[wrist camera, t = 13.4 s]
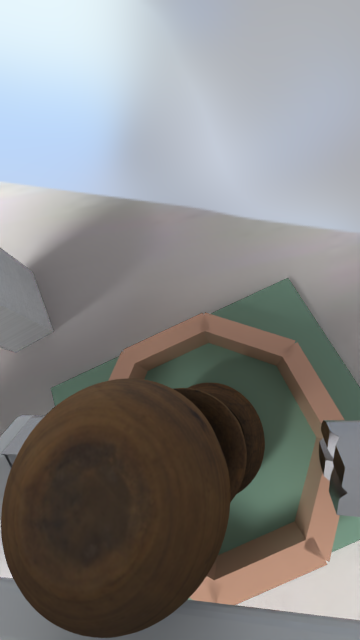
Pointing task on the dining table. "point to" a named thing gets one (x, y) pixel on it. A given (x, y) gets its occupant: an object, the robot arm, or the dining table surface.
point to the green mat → (261, 407)
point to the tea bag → (20, 306)
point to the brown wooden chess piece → (126, 501)
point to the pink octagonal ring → (315, 503)
